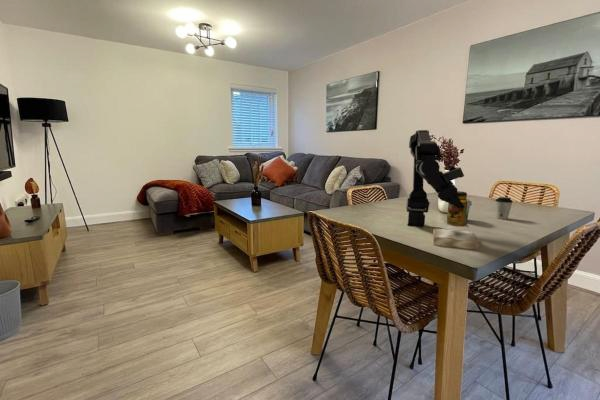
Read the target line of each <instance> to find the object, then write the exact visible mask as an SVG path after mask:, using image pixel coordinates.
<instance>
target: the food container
mask: <svg viewBox="0 0 600 400" xmlns="http://www.w3.org/2000/svg"><path fill="white" fill-rule="evenodd" d="M466 200H467V211H466V220H465V222H466V223H467V222H468V217H469V213H470V208H471V206H472V205H473V204H472V200H471V199H469V198H466Z"/></svg>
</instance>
